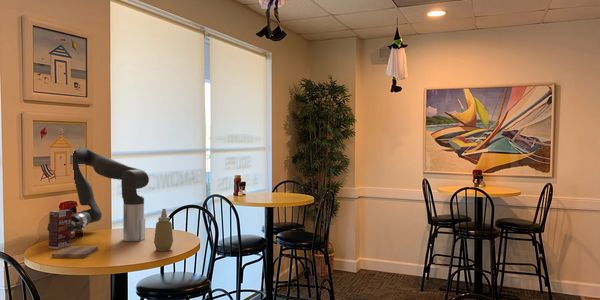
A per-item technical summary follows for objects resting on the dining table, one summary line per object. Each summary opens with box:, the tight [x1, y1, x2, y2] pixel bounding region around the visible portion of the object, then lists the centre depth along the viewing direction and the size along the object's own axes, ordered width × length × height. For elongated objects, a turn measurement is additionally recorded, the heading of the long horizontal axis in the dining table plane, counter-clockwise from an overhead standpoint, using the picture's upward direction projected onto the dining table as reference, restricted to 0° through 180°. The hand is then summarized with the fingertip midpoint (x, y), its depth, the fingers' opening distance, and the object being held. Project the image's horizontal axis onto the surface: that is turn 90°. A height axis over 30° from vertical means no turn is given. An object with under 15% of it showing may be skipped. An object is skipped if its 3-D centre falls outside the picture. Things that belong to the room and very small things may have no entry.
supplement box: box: [48, 208, 72, 250], centre depth 200 cm, size 9×5×16 cm, turn 168°
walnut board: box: [51, 245, 99, 259], centre depth 189 cm, size 13×13×2 cm
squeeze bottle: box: [153, 208, 174, 252], centre depth 198 cm, size 8×8×18 cm
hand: (58, 229), depth 199 cm, fingers open, 8 cm apart
